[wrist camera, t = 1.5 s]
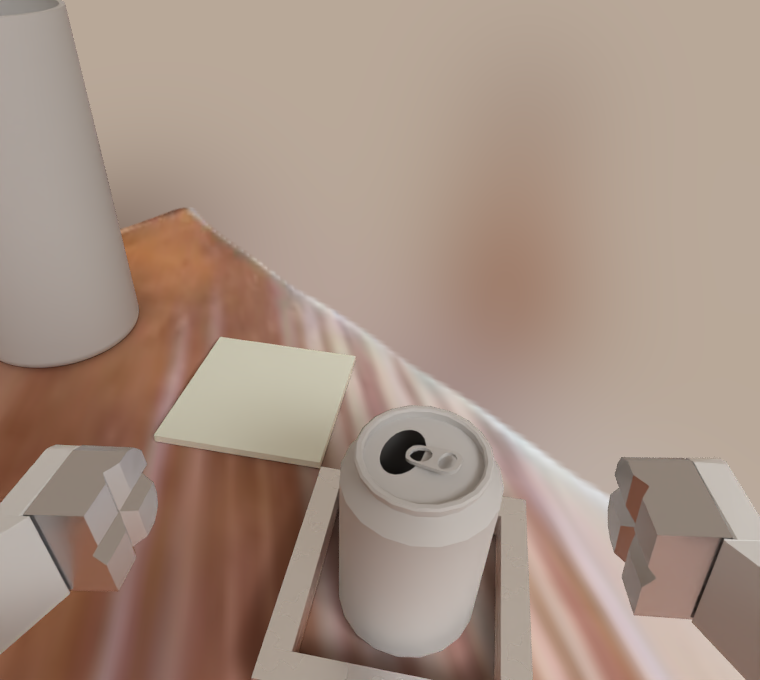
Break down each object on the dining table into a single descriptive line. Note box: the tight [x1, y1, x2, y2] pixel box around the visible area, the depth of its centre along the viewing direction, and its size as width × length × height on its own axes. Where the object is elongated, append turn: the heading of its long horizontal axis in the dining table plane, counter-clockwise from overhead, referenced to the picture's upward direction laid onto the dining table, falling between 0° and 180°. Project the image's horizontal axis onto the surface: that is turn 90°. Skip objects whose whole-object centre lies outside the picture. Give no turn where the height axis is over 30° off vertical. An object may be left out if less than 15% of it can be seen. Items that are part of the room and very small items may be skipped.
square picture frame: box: [251, 467, 533, 680], centre depth 32 cm, size 13×13×2 cm
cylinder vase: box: [0, 0, 139, 368], centre depth 44 cm, size 12×12×25 cm
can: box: [339, 405, 504, 658], centre depth 29 cm, size 8×8×12 cm
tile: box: [154, 337, 356, 468], centre depth 45 cm, size 12×12×1 cm
